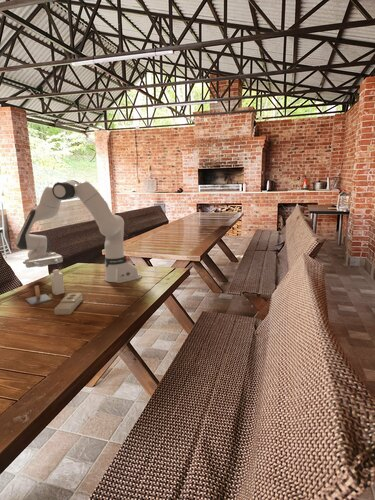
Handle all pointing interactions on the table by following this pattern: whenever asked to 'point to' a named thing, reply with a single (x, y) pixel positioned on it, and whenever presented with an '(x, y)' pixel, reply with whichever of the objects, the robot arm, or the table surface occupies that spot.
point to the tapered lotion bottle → (57, 282)
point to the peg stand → (38, 297)
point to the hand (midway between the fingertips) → (48, 263)
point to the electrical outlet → (68, 303)
